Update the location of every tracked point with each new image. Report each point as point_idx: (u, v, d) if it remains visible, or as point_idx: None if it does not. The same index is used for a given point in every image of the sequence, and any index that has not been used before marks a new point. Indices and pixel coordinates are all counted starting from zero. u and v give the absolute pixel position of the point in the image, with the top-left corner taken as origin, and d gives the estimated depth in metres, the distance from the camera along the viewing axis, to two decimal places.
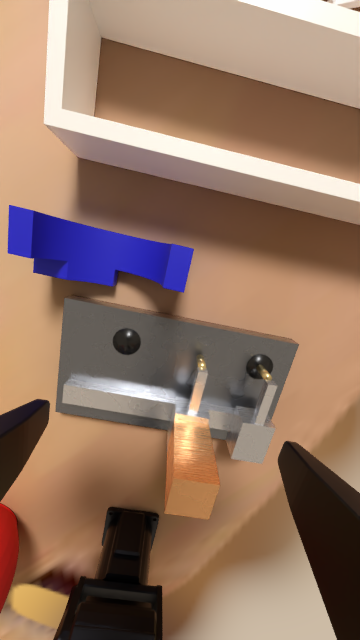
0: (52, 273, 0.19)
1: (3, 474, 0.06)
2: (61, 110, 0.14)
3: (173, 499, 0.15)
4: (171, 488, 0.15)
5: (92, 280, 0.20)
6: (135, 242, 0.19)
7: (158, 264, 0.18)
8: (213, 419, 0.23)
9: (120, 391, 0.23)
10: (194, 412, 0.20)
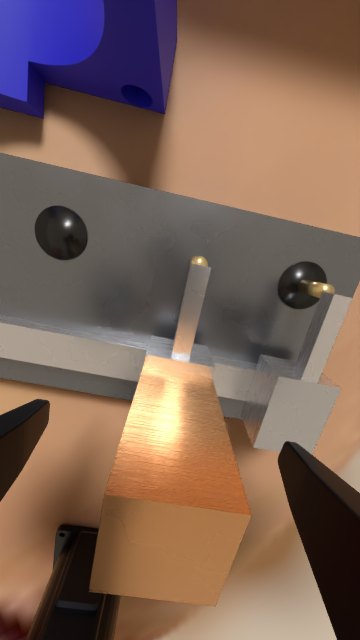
0: None
1: (3, 474, 0.06)
2: None
3: (110, 554, 0.05)
4: (102, 524, 0.05)
5: None
6: None
7: None
8: (219, 380, 0.13)
9: (54, 329, 0.13)
10: (184, 355, 0.10)
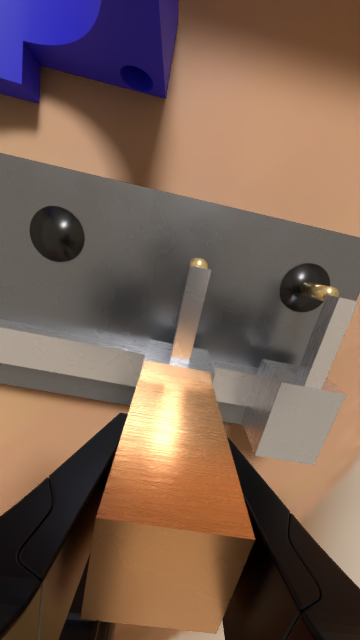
0: None
1: None
2: None
3: (103, 580, 0.05)
4: (93, 549, 0.04)
5: None
6: None
7: None
8: (220, 385, 0.13)
9: (50, 332, 0.12)
10: (183, 360, 0.10)
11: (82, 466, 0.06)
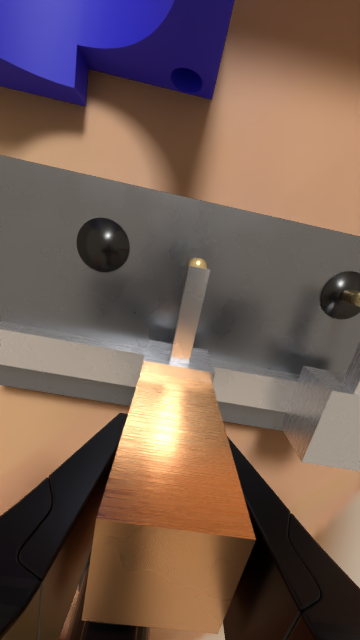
0: None
1: None
2: None
3: (104, 581, 0.05)
4: (94, 550, 0.04)
5: (30, 66, 0.10)
6: None
7: None
8: (261, 392, 0.13)
9: (94, 341, 0.12)
10: (183, 360, 0.10)
11: (82, 466, 0.06)
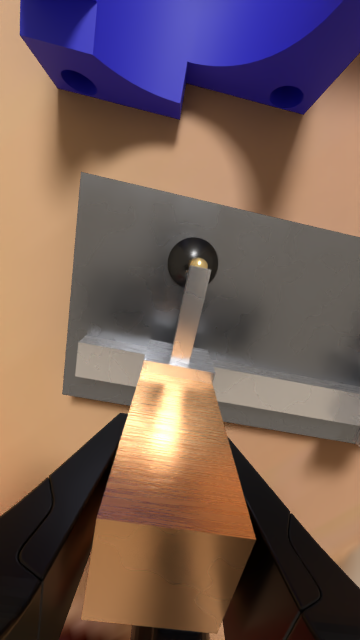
0: (62, 37, 0.08)
1: None
2: None
3: (103, 580, 0.05)
4: (94, 550, 0.04)
5: (142, 82, 0.10)
6: None
7: None
8: (337, 406, 0.13)
9: None
10: (183, 360, 0.10)
11: (82, 466, 0.06)
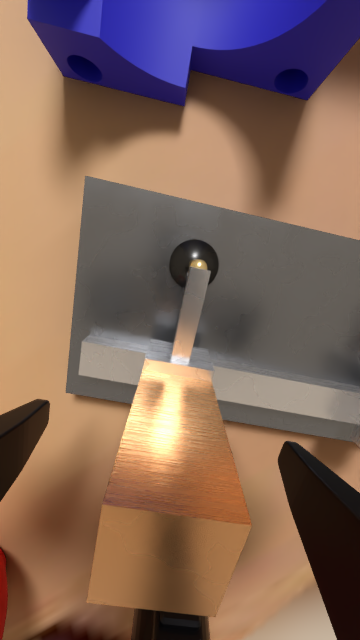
0: (69, 20, 0.09)
1: (3, 474, 0.06)
2: None
3: (109, 565, 0.05)
4: (99, 535, 0.05)
5: (148, 67, 0.10)
6: None
7: None
8: (335, 404, 0.14)
9: None
10: (183, 359, 0.10)
11: None
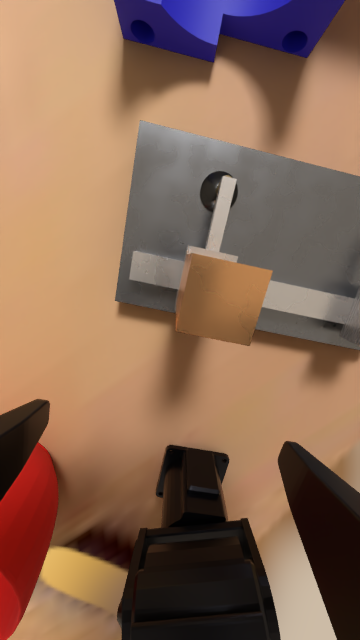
0: None
1: (3, 474, 0.06)
2: None
3: (191, 300, 0.09)
4: (188, 277, 0.08)
5: (190, 28, 0.14)
6: None
7: None
8: (327, 306, 0.17)
9: None
10: (215, 249, 0.14)
11: None
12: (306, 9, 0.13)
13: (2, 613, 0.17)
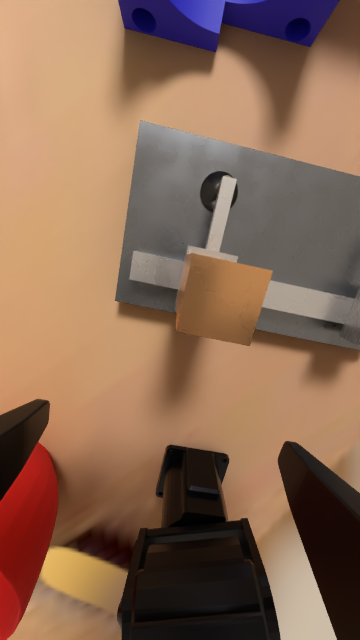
0: None
1: (3, 474, 0.06)
2: None
3: (191, 300, 0.09)
4: (188, 277, 0.09)
5: (192, 16, 0.13)
6: None
7: None
8: (327, 306, 0.17)
9: None
10: (215, 249, 0.14)
11: None
12: None
13: (2, 613, 0.17)
